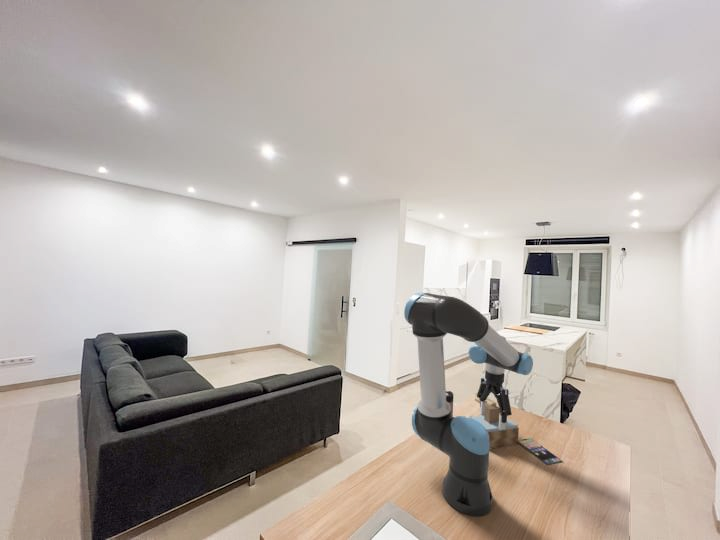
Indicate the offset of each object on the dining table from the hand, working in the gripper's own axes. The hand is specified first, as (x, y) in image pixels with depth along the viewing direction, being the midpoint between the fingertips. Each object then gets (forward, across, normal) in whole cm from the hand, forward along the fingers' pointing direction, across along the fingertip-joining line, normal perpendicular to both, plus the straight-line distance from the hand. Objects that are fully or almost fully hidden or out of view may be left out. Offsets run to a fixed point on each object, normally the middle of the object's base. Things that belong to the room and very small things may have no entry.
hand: (492, 422), depth 129 cm
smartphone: (+8, -12, -13) cm, 20 cm away
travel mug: (+8, +5, +21) cm, 23 cm away
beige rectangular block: (-1, +12, -7) cm, 14 cm away
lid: (+2, 0, -1) cm, 2 cm away
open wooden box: (+7, +2, -1) cm, 8 cm away
